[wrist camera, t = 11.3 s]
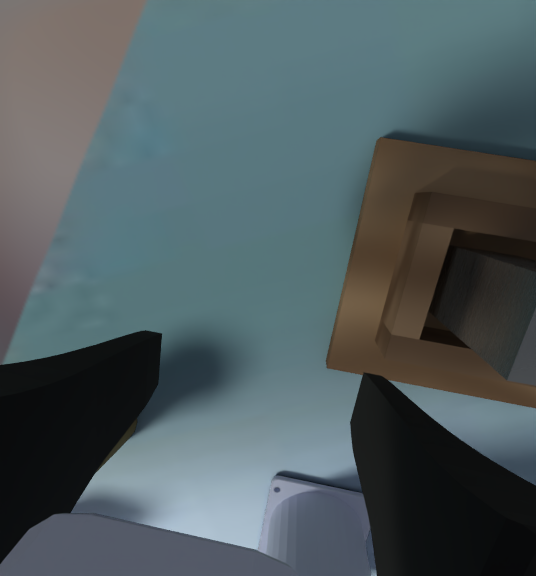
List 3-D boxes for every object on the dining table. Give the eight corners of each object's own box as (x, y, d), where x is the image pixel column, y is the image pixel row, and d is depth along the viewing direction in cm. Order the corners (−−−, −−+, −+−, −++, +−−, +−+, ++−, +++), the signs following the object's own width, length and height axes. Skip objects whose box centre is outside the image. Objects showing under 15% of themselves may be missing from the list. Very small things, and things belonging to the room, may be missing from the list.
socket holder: (536, 401, 22) (580, 438, 18) (325, 360, 22) (330, 389, 19) (635, 180, 18) (713, 175, 14) (376, 140, 19) (393, 127, 15)
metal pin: (494, 321, 19) (620, 401, 12) (427, 310, 20) (506, 380, 12) (519, 255, 18) (674, 296, 11) (446, 244, 19) (548, 275, 11)
